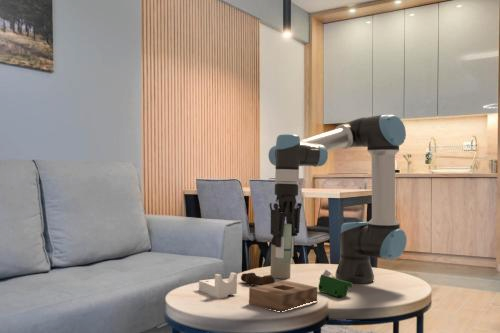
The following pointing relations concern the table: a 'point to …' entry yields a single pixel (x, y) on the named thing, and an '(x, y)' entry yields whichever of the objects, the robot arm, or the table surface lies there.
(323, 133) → the robot arm
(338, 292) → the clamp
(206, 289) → the bracket
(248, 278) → the bolt
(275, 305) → the board
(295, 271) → the table surface
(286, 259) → the peg
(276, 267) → the travel mug
